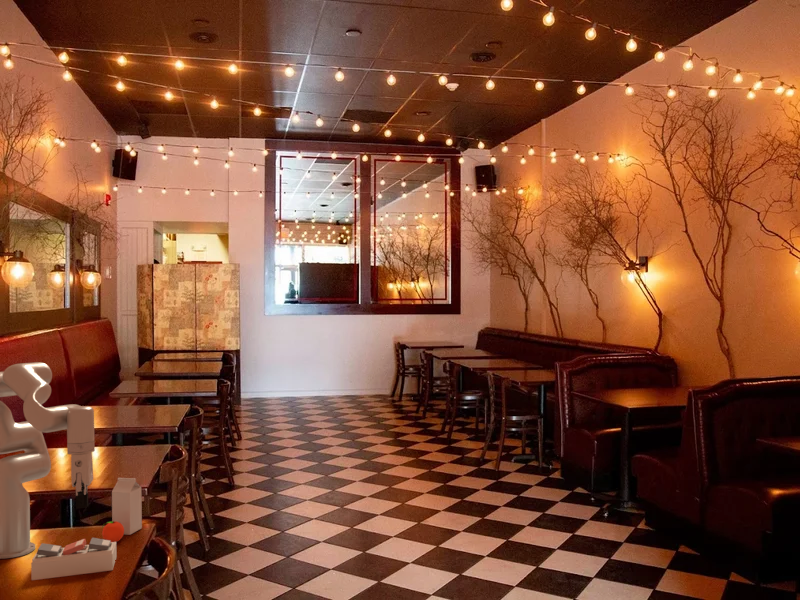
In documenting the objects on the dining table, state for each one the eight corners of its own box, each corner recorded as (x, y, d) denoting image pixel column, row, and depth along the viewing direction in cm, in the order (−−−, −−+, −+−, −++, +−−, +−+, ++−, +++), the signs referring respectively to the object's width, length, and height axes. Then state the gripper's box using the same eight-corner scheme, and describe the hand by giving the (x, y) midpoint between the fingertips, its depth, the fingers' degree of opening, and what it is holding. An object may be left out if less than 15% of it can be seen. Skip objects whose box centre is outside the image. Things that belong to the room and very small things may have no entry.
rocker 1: (36, 554, 195) (37, 549, 196) (40, 547, 201) (41, 542, 201) (56, 557, 197) (58, 552, 197) (60, 550, 202) (61, 545, 202)
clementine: (94, 544, 223) (94, 523, 223) (108, 537, 230) (108, 517, 230) (115, 546, 221) (115, 525, 221) (128, 539, 228) (128, 518, 228)
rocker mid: (64, 556, 198) (62, 551, 198) (67, 549, 203) (65, 545, 203) (83, 548, 199) (82, 544, 199) (86, 542, 205) (85, 538, 204)
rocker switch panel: (31, 580, 194) (31, 559, 194) (39, 566, 204) (39, 547, 204) (112, 570, 200) (112, 550, 201) (116, 557, 211) (116, 538, 211)
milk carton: (130, 535, 232) (129, 481, 232) (112, 534, 233) (111, 480, 234) (142, 528, 239) (141, 476, 239) (124, 527, 240) (123, 475, 240)
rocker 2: (88, 548, 200) (89, 543, 200) (90, 542, 205) (92, 537, 205) (107, 551, 201) (108, 546, 201) (109, 544, 207) (111, 540, 207)
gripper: (90, 450, 196) (91, 512, 196) (97, 441, 210) (98, 499, 210) (62, 453, 194) (64, 515, 193) (71, 444, 208) (72, 502, 208)
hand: (82, 507), depth 202 cm, fingers closed
